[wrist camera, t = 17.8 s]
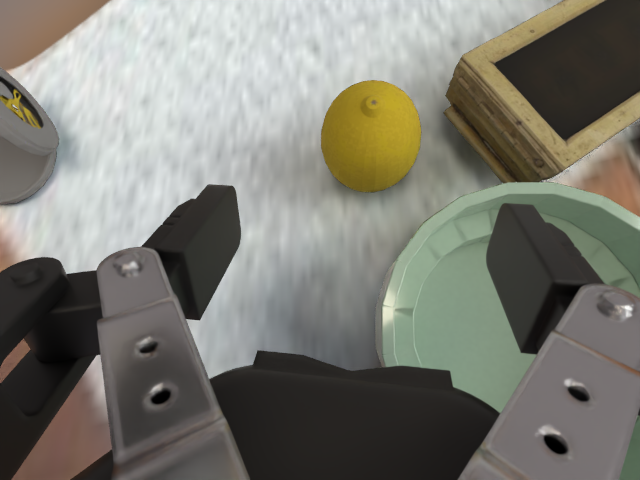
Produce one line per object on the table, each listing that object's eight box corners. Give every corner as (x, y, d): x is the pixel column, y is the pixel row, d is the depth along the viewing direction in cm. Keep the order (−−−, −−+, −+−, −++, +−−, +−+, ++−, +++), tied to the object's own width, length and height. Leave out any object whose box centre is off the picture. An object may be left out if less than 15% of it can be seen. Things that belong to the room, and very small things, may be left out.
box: (422, 116, 24) (454, 58, 19) (646, -23, 29) (716, -97, 24) (509, 217, 22) (567, 182, 18) (731, 53, 27) (825, -10, 22)
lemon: (326, 208, 25) (314, 159, 17) (326, 131, 26) (314, 52, 18) (411, 206, 24) (438, 155, 17) (407, 128, 26) (431, 45, 18)
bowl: (329, 299, 24) (321, 294, 18) (509, 172, 24) (559, 127, 18) (476, 514, 21) (525, 592, 15) (677, 363, 21) (800, 381, 15)
